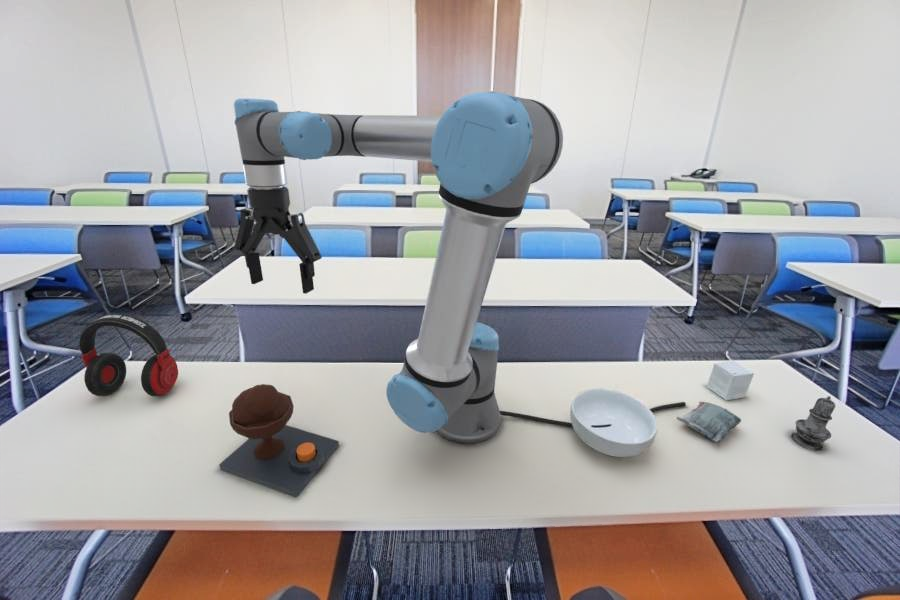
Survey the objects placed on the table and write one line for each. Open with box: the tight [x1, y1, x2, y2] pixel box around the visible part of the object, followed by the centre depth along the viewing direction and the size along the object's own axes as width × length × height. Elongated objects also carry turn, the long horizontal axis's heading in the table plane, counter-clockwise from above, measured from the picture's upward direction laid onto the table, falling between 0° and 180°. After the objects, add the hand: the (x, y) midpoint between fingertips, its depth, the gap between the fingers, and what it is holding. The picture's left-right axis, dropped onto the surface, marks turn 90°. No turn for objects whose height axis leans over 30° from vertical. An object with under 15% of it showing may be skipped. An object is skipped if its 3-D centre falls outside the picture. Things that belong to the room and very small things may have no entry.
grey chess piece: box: [790, 395, 836, 452], centre depth 83 cm, size 6×6×12 cm
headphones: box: [78, 313, 179, 397], centre depth 90 cm, size 18×10×20 cm, turn 92°
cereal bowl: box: [569, 388, 659, 458], centre depth 83 cm, size 17×17×7 cm
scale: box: [218, 424, 340, 498], centre depth 76 cm, size 18×13×3 cm
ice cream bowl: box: [228, 383, 294, 459], centre depth 74 cm, size 11×11×15 cm
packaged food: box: [676, 400, 742, 443], centre depth 88 cm, size 9×12×5 cm
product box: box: [706, 360, 755, 401], centre depth 100 cm, size 6×6×7 cm
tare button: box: [297, 443, 316, 462], centre depth 74 cm, size 3×3×2 cm
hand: (282, 286), depth 87 cm, fingers open, 13 cm apart
